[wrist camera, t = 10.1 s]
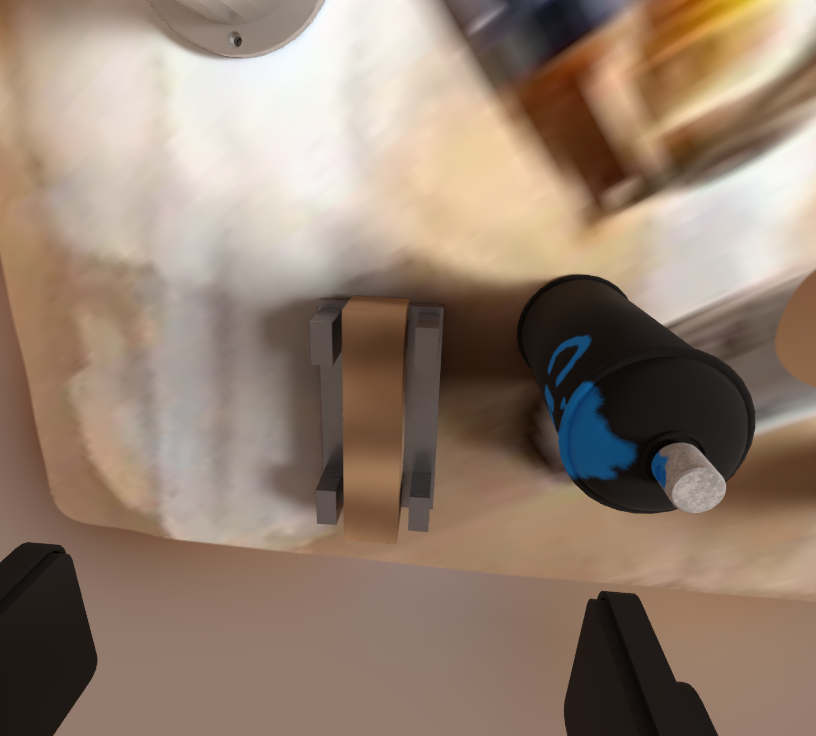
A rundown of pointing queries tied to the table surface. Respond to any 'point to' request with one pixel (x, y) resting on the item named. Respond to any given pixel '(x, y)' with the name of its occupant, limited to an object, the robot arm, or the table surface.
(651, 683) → the robot arm
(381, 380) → the rail
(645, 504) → the aerosol can
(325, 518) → the cradle
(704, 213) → the table surface
